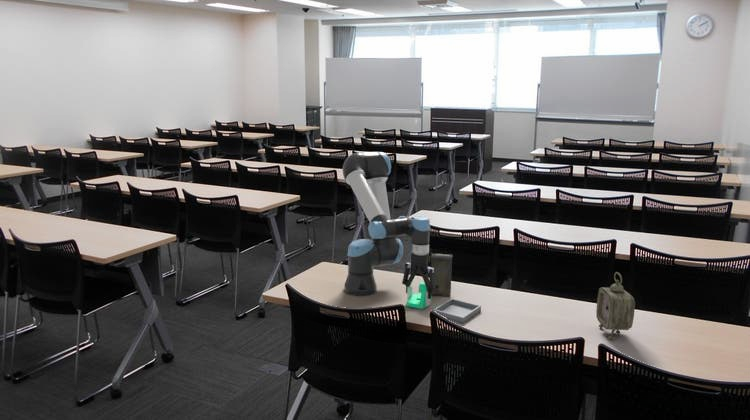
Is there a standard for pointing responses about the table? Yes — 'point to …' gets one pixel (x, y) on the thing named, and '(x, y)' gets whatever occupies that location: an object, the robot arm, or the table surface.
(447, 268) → the vintage camera
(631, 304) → the tabletop clock
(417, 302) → the camera mount
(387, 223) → the robot arm
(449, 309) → the tray
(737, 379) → the table surface
